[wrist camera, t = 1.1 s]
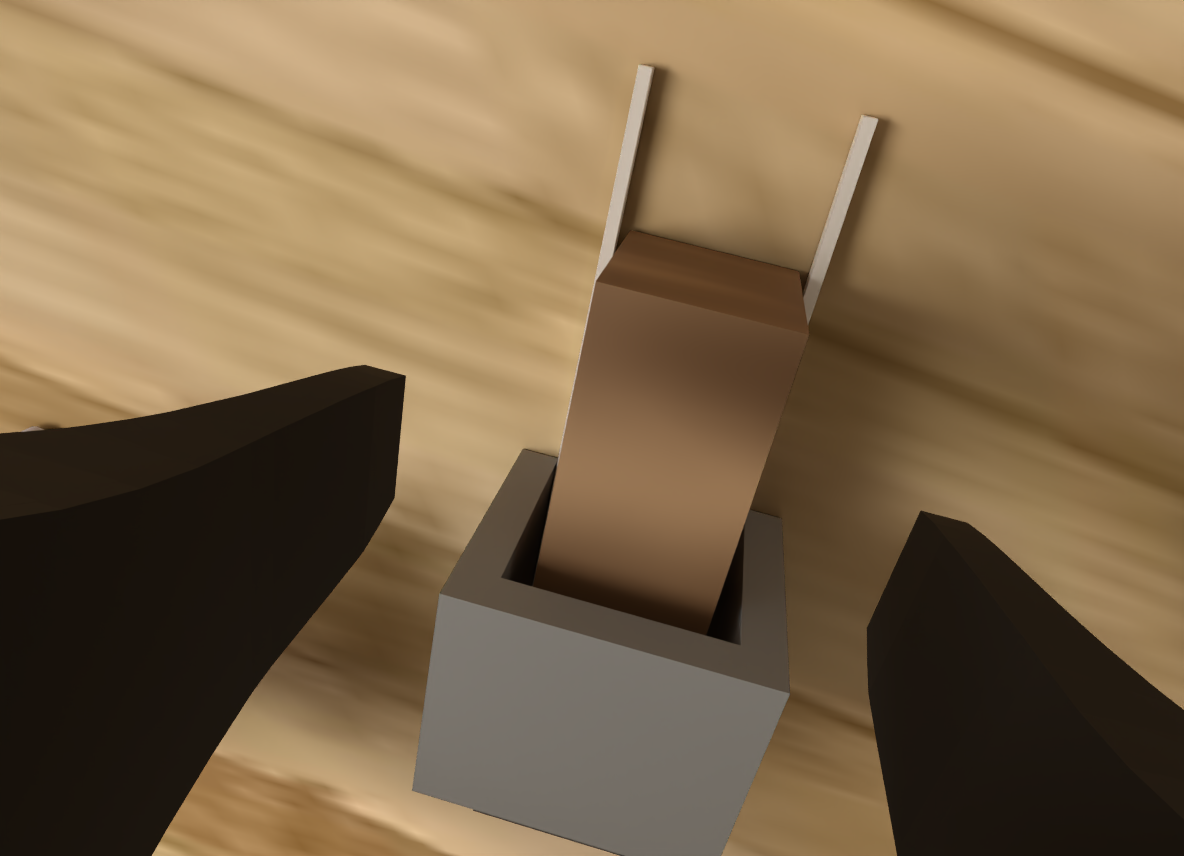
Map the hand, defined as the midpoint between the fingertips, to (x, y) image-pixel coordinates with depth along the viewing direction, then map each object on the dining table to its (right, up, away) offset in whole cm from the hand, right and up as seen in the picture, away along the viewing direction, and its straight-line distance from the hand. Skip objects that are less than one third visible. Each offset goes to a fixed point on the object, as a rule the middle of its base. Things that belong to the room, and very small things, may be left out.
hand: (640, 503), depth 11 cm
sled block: (+1, -1, +11) cm, 11 cm away
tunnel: (+1, 0, +10) cm, 10 cm away
